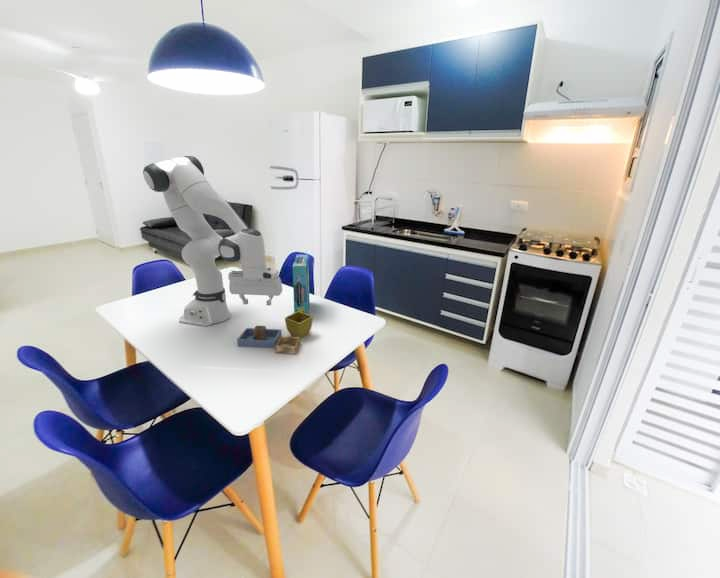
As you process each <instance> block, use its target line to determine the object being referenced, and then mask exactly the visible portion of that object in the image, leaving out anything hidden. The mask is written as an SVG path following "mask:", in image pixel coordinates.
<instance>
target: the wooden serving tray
mask: <svg viewBox="0 0 720 578" xmlns="http://www.w3.org/2000/svg"><path fill="white" fill-rule="evenodd" d="M301 342H302V341H301V338H300V337H294V336H283V335H282V336H281V337H280V338H279V340H278V342H277V344H276V346H275V348H274V350H275V352H274V353H275V354H278V355H279V354H281V355H297V354H298V351H299V349H300V346H301Z"/></svg>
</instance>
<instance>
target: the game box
mask: <svg viewBox="0 0 720 578" xmlns="http://www.w3.org/2000/svg"><path fill="white" fill-rule="evenodd" d="M309 260H310V259H309V254H296V256H295V259H294V262H293V263H292V285H293V313H295V312H298V311H299V312H302V313H305V314H308V313H309V308H310V273H309V272H310V271H309V269H310V267H309V265H310V264H309V263H310V262H309ZM308 315H309V314H308Z"/></svg>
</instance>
